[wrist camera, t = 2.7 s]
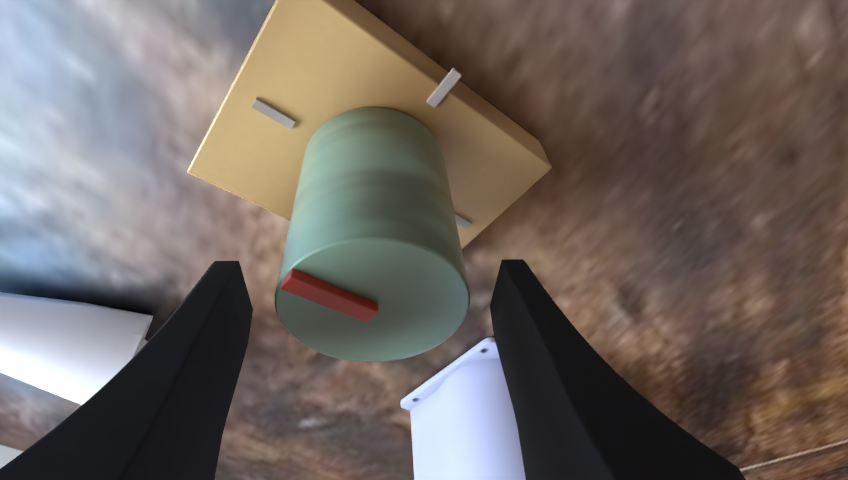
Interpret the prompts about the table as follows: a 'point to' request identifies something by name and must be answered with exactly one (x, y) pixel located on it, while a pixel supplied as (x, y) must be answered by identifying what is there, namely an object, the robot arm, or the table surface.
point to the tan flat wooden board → (351, 89)
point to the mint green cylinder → (372, 242)
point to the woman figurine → (67, 343)
